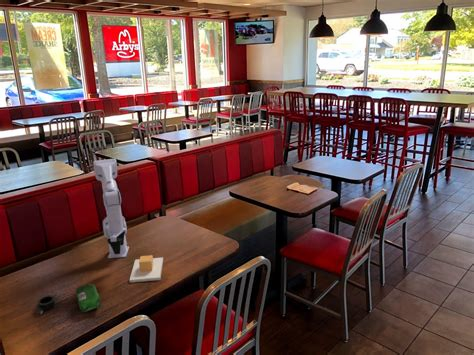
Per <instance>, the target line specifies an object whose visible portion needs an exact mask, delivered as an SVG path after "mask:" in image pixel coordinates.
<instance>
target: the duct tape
mask: <svg viewBox="0 0 474 355" xmlns="http://www.w3.org/2000/svg"><path fill="white" fill-rule="evenodd" d="M57 296H58V294H57V293H55V294H52V295H51V294H50V295H48V294H47V295H45V296H42V297H40V298H39V299H38V300H37V305H36V308H35V309H36V310H35V313H36V314H39V315H42V313H43V312H48V311H51V310H53V309H54V308H55V307H56V306H57V301H56V297H57Z"/></svg>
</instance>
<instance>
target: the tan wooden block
mask: <svg viewBox="0 0 474 355" xmlns="http://www.w3.org/2000/svg"><path fill="white" fill-rule="evenodd" d="M153 256H154V255H151V254H150V255H140V258H139V259H140V260H139V267H140V272H144V271H152V270H153V265H154V263H153V258H154V257H153Z"/></svg>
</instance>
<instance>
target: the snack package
mask: <svg viewBox="0 0 474 355" xmlns="http://www.w3.org/2000/svg"><path fill="white" fill-rule="evenodd" d="M75 294H76V299H77V302H78V307H79V310H80V312H82V313H86V312H88V311H92V310H94V309H97V308H98V309H99V308H101V306H102V304H101V300H100V299H101V298H100V295H99V293H98V291H97V287H96V285H95V284H94V283H87V284H84V285H82V286H79V287H77V288H76V290H75Z"/></svg>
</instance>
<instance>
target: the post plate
mask: <svg viewBox="0 0 474 355" xmlns="http://www.w3.org/2000/svg"><path fill="white" fill-rule="evenodd" d="M139 260H140V258H138V259H135V260H134V263H133V266H132V270H131V273H130V275H129V276H130V277H129V283H141V282H149V281H161V278H162V277H161V276H162V271H163V264H164V257H153V263H154V265H153V270H152V271H144V272H140V267H139Z"/></svg>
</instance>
